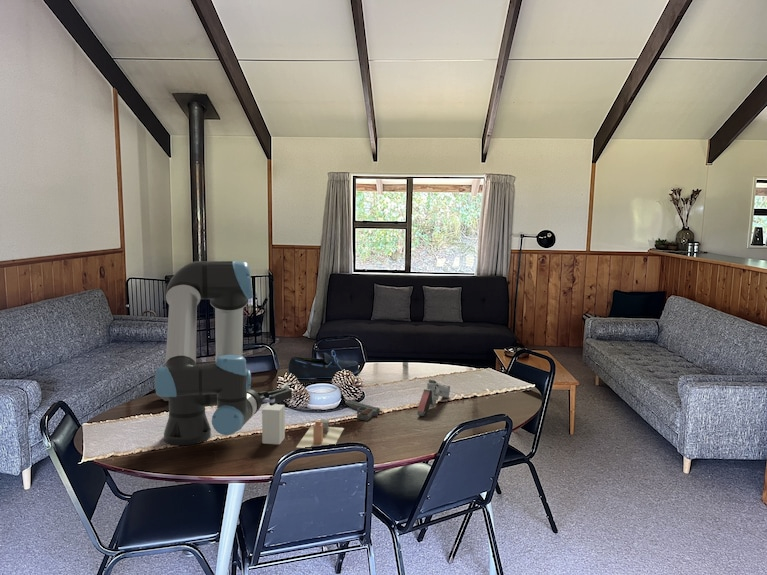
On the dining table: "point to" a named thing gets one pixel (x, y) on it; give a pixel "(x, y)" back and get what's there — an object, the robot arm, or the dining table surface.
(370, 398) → the dining table surface
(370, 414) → the handgun
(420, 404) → the revolver
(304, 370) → the moccasin
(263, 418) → the tall cream block
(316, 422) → the post
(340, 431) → the board
